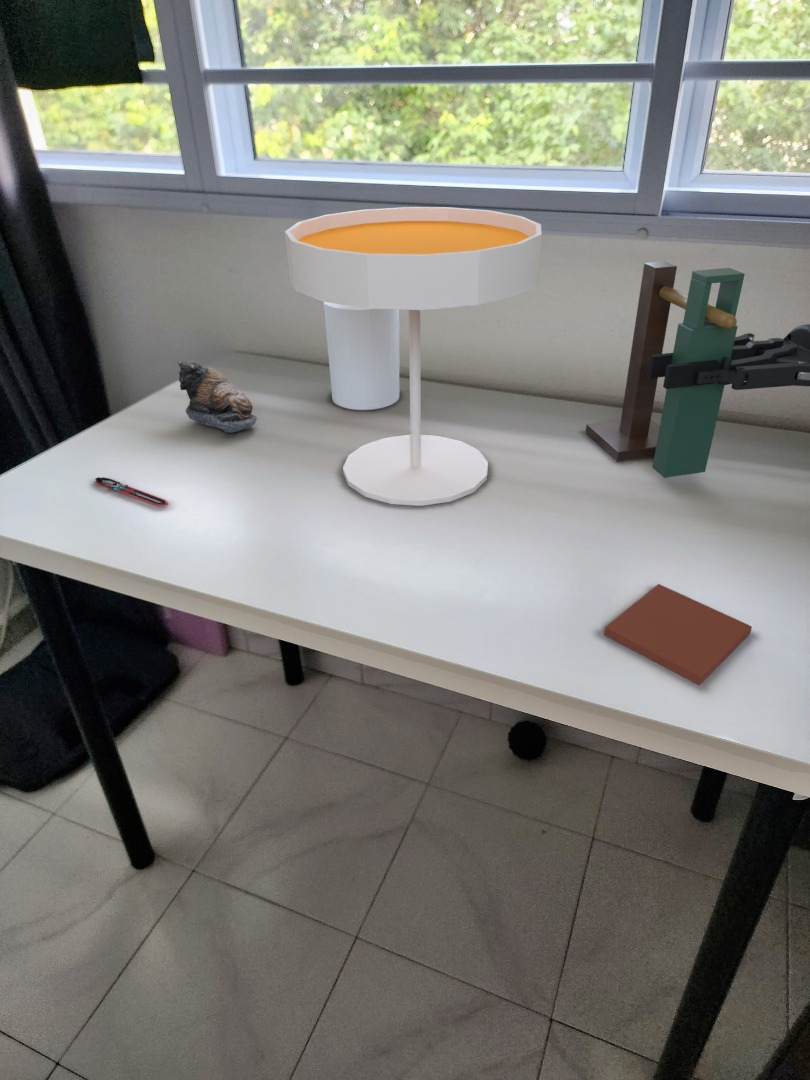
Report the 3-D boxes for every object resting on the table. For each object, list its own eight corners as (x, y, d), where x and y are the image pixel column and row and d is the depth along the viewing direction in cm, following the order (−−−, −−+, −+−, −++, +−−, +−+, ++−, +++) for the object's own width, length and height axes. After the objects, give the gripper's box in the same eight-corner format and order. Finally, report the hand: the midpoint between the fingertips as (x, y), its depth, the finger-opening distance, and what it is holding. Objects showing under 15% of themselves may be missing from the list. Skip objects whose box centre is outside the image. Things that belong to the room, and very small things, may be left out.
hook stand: (730, 490, 97) (778, 293, 83) (660, 501, 95) (698, 300, 81) (645, 425, 114) (674, 253, 101) (585, 432, 112) (606, 258, 99)
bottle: (396, 411, 120) (392, 248, 107) (323, 409, 122) (311, 247, 108) (405, 385, 130) (402, 232, 117) (338, 383, 132) (328, 231, 118)
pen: (162, 510, 95) (161, 506, 94) (90, 483, 101) (89, 479, 101) (173, 504, 96) (172, 499, 96) (102, 477, 102) (101, 473, 102)
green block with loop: (705, 472, 98) (749, 273, 84) (664, 478, 97) (702, 277, 83) (692, 462, 100) (733, 267, 87) (652, 467, 99) (687, 271, 86)
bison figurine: (265, 424, 117) (257, 362, 111) (239, 442, 111) (229, 378, 106) (203, 413, 121) (192, 352, 116) (174, 430, 116) (162, 367, 110)
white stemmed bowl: (568, 491, 97) (598, 236, 80) (358, 548, 86) (342, 268, 70) (456, 412, 120) (461, 200, 103) (279, 450, 109) (252, 220, 92)
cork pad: (750, 634, 73) (752, 626, 72) (699, 685, 67) (701, 677, 66) (657, 591, 79) (658, 583, 78) (603, 634, 73) (604, 626, 72)
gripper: (864, 404, 90) (689, 427, 85) (777, 361, 103) (621, 378, 99) (884, 343, 86) (702, 363, 81) (791, 306, 99) (630, 321, 95)
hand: (658, 371), depth 90 cm, fingers closed on green block with loop, 3 cm apart
